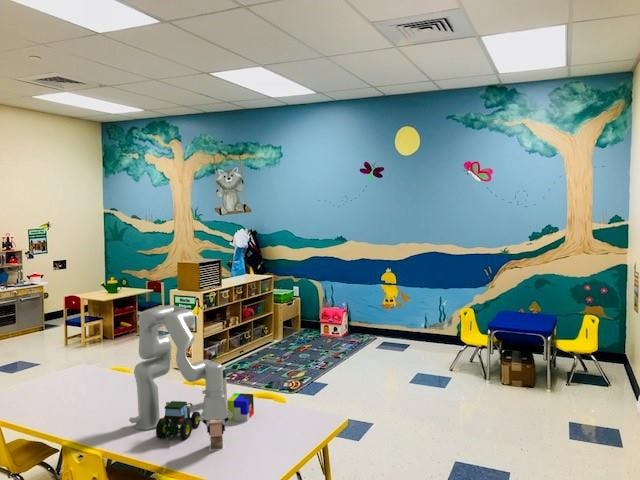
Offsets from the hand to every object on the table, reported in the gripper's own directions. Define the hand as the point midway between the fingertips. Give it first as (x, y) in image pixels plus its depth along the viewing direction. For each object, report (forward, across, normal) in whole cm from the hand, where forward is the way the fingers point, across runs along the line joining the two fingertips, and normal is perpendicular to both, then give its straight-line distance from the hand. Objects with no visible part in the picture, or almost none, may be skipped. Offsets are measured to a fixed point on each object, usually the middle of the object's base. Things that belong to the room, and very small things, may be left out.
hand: (216, 432), depth 229 cm
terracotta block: (0, 0, 0) cm, 0 cm away
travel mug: (+7, 0, +56) cm, 56 cm away
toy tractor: (+7, -18, +19) cm, 27 cm away
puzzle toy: (+7, +11, +32) cm, 35 cm away
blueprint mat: (+7, -1, 0) cm, 7 cm away
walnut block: (+6, 0, 0) cm, 6 cm away
